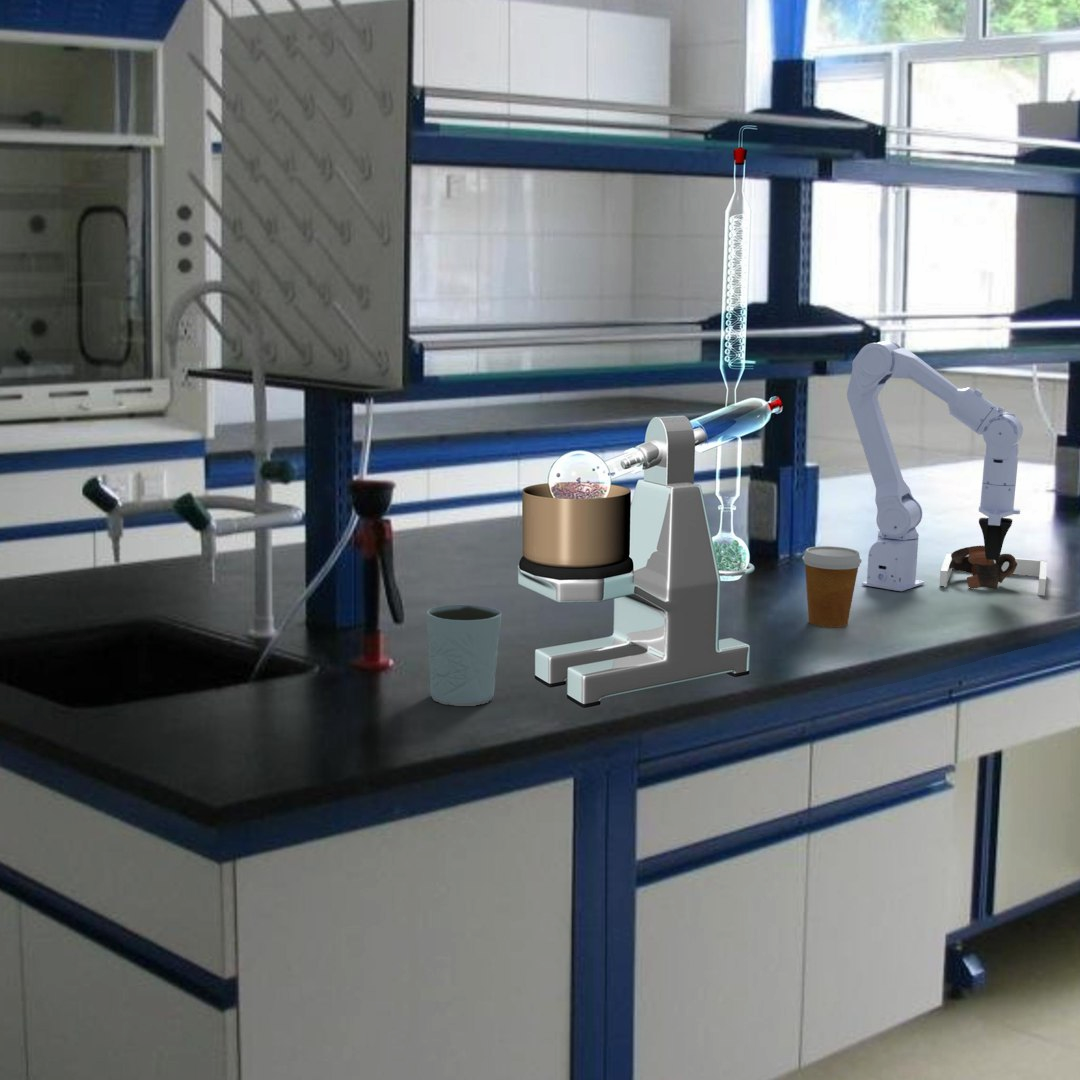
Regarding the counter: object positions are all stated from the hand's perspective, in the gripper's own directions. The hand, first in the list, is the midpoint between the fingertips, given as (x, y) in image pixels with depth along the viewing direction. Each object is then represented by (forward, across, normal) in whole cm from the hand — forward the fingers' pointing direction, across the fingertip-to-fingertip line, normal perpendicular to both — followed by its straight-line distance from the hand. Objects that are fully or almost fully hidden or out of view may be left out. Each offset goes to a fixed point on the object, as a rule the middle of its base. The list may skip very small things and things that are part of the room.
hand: (992, 559), depth 315 cm
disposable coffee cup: (+7, -33, +24) cm, 42 cm away
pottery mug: (+7, +10, +2) cm, 12 cm away
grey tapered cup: (+7, -98, +65) cm, 118 cm away
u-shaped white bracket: (+7, +13, 0) cm, 15 cm away
